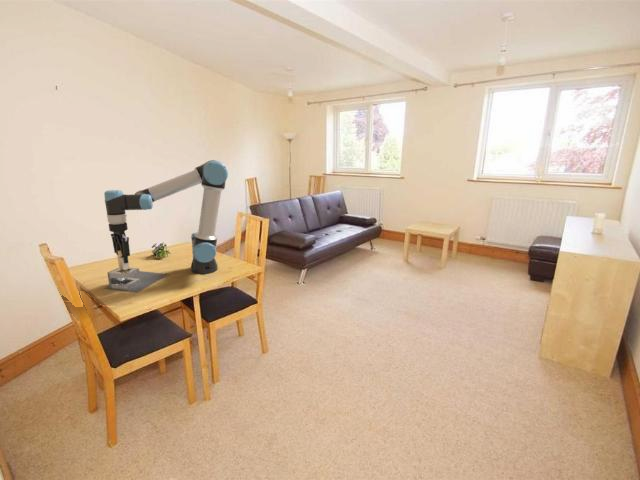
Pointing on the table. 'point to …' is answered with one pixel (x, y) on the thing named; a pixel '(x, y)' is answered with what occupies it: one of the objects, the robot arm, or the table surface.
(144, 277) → the mat
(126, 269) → the pin
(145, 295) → the table surface
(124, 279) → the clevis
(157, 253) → the passion flower
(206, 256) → the robot arm
